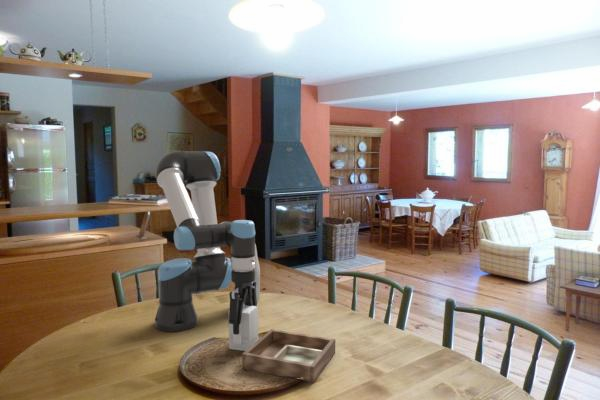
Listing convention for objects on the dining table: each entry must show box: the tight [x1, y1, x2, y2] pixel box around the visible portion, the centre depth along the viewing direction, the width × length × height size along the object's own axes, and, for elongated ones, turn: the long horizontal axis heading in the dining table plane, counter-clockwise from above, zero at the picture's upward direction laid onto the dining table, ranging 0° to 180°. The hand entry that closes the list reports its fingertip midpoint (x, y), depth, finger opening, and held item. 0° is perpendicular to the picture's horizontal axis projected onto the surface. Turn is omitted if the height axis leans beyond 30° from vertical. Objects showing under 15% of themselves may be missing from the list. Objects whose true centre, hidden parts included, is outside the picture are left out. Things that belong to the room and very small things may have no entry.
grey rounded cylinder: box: [241, 243, 261, 305], centre depth 182 cm, size 10×10×28 cm
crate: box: [241, 329, 336, 384], centre depth 137 cm, size 22×20×4 cm
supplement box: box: [227, 305, 259, 352], centre depth 147 cm, size 7×7×13 cm
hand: (243, 338), depth 147 cm, fingers closed on supplement box, 7 cm apart
